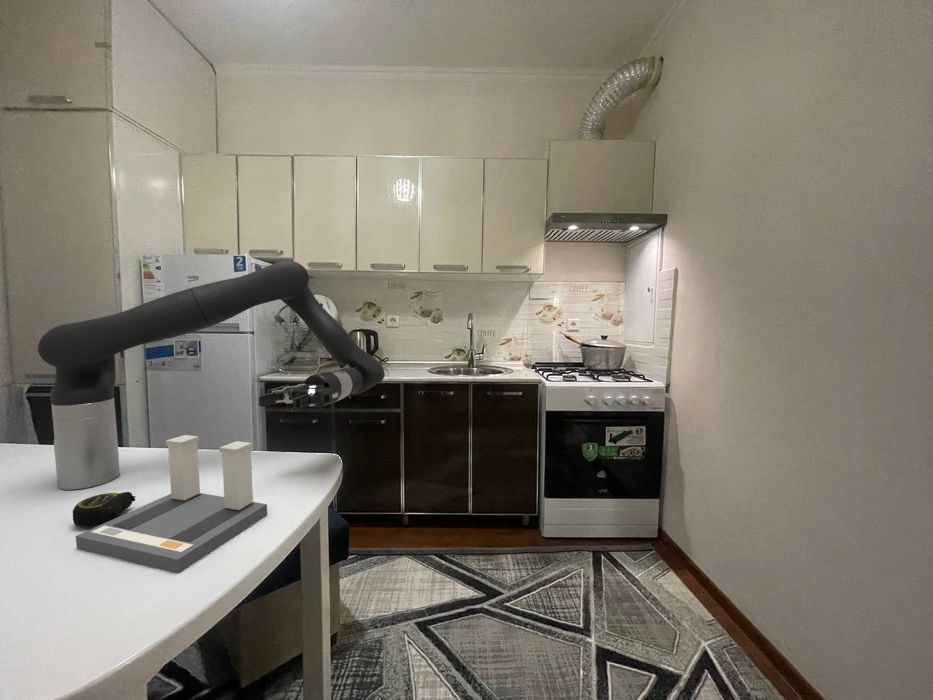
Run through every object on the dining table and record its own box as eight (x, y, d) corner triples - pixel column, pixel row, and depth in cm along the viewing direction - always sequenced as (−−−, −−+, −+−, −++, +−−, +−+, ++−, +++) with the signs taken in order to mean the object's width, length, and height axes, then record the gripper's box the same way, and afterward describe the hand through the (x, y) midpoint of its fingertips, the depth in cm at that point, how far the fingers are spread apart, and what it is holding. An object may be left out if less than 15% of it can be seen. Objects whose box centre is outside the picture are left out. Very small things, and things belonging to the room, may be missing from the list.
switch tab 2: (222, 508, 66) (219, 447, 65) (239, 498, 69) (236, 441, 68) (238, 510, 65) (235, 449, 64) (254, 501, 68) (252, 443, 67)
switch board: (76, 548, 58) (75, 534, 58) (180, 499, 73) (180, 488, 73) (178, 573, 53) (177, 558, 52) (267, 514, 68) (266, 503, 68)
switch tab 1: (169, 498, 69) (165, 440, 68) (187, 490, 72) (184, 434, 71) (184, 501, 68) (180, 442, 67) (201, 492, 71) (198, 436, 70)
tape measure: (115, 528, 64) (113, 506, 63) (62, 534, 62) (60, 512, 61) (136, 508, 70) (135, 488, 70) (89, 513, 68) (87, 493, 68)
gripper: (302, 370, 92) (246, 382, 76) (355, 372, 88) (307, 386, 72) (303, 400, 93) (248, 418, 77) (356, 404, 89) (308, 424, 73)
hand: (277, 403), depth 75 cm, fingers open, 7 cm apart
